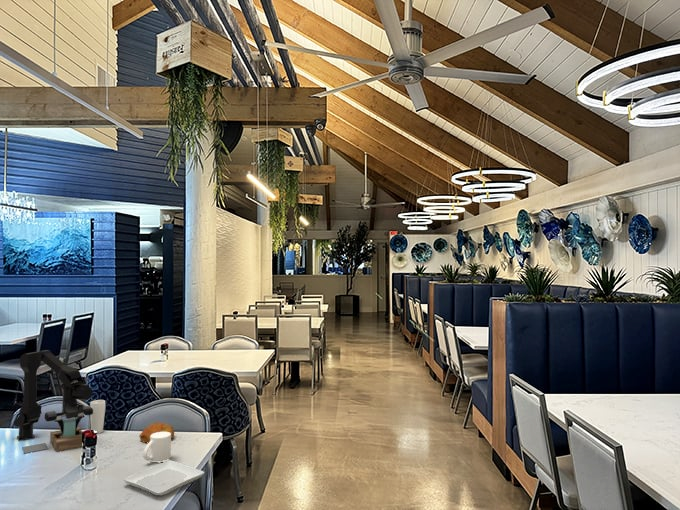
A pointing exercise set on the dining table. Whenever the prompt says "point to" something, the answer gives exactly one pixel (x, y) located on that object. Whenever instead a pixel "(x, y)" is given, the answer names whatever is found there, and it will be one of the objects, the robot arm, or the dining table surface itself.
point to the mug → (158, 447)
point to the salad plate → (189, 471)
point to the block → (68, 428)
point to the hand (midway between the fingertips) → (68, 432)
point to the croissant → (153, 429)
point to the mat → (35, 448)
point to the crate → (66, 440)
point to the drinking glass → (97, 415)
